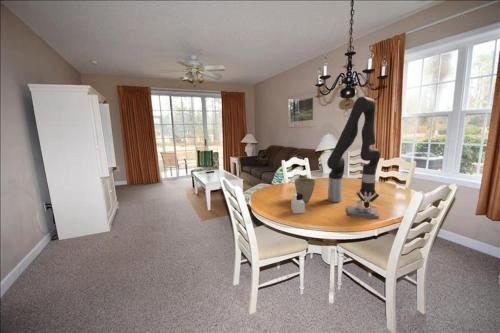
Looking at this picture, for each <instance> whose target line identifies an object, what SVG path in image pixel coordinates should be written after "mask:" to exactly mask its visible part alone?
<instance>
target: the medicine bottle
mask: <svg viewBox="0 0 500 333" xmlns="http://www.w3.org/2000/svg"><path fill="white" fill-rule="evenodd" d="M292 195H293V196H292V198H293V199H291V203H290V204H291V207H290V208H291V211H292V212H293V214H306V212H305V210H306V208H305V206H306V202H304V201H303V195H302V194H301V193H297V192H296V193H293V194H292Z"/></svg>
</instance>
